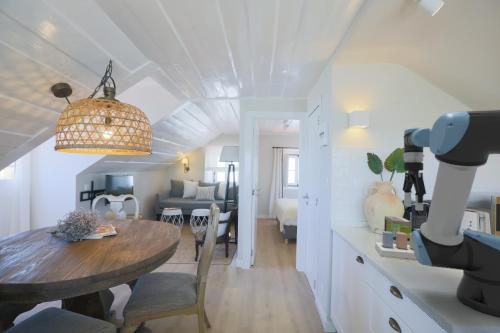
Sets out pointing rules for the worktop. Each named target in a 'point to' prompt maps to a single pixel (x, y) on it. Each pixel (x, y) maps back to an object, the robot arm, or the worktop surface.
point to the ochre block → (411, 241)
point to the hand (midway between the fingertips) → (413, 208)
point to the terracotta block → (401, 240)
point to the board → (395, 251)
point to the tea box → (398, 227)
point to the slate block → (387, 239)
